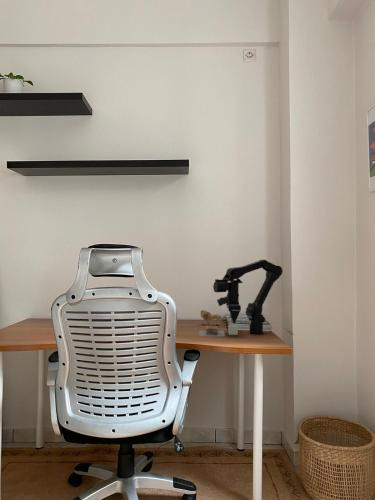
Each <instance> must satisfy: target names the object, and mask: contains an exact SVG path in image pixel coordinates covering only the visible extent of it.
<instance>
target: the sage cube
mask: <svg viewBox="0 0 375 500" xmlns="http://www.w3.org/2000/svg"><path fill="white" fill-rule="evenodd" d="M227 329H228V335H230V336H232V335H236V336H238V334H239V332H238V330H239V327H238V325H228V328H227Z"/></svg>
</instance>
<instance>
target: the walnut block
mask: <svg viewBox="0 0 375 500" xmlns="http://www.w3.org/2000/svg"><path fill="white" fill-rule="evenodd" d="M218 327H219V326H206V329H205V331H206V334H207V335H218V331H219V328H218Z"/></svg>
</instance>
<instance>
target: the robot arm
mask: <svg viewBox="0 0 375 500" xmlns="http://www.w3.org/2000/svg"><path fill="white" fill-rule="evenodd" d="M259 269H263V270H264V271H265V279H264V282H263V283H262V285H261V288H260V290H259V291H258V294H257V295H256V297H255V298H254V301H253V302H249V303H248V304H247V307H246V308H245V314H246V317H247V318H248V321H250V322H249V325H248V329H249V330H248V331H249V333H250V334H251V335H258V334H259V335H264V330H263V329H264V323H266V318H265V316H264V315H262V314H263V304H264V303H265V301H266V299H267V297H268V295H269V293H270V291H271V289H272V287H273V285H274V283H275V282H276V281H278V279H280V277H281V276H282V274H283V268H282V266H281V265H276V264H274V263H272V262H270V261H268V260H266V259H259V260H257V261H254V262H251V263H249V264H245V265H242V266H238V267H237V266H236V267H230V268H227V269H226V273H225V275H224V276H223V277H222V279H219V278H216V279H214V283H213V285H212V286H213V287H212V288H213V291H214V293H227V294H226V296H224V297H219V298H218V299H216V302H217V304H218V306H219V307H221V306H223V305H225V304H226V305H225V306H226V308H227V311H228V312H229V313H230V318H231V321H232V324H236V322H237V320H238V317H239V315H240V313H241V310H242V306H241V304H240V299H239V298H240V297H239V296H240V291H239V287H240V286H239V284H243V281H242V280H241V279H240V278H241V277H243V276H244V275H246V274H247V273H251V272H254V271H257V270H259Z"/></svg>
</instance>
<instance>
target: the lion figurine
mask: <svg viewBox="0 0 375 500" xmlns="http://www.w3.org/2000/svg"><path fill="white" fill-rule="evenodd" d="M199 314H200V317H201V318H202V319H203V320H204V321H206V323H205V326H209V325H210V321H215V320H216V321H217V323H216V326H218V327H222V325H223V326H224V325H225V323H224V322H223V318H222V316H221V315H220V314H218V313H215V314H212V313H211V312H209V311H207V310H206V309H202V310H200V313H199Z"/></svg>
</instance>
